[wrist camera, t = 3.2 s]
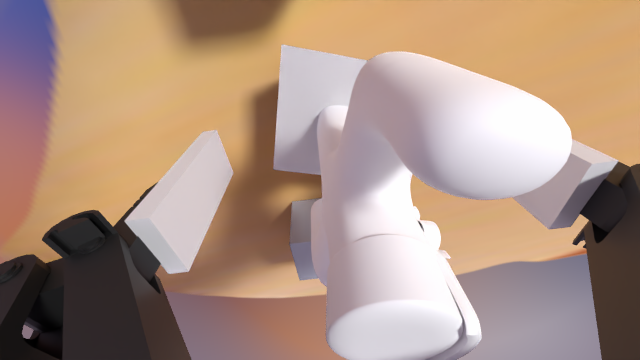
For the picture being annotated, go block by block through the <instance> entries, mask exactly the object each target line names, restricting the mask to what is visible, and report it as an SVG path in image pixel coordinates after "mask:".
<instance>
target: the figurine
mask: <svg viewBox="0 0 640 360" xmlns="http://www.w3.org/2000/svg"><path fill="white" fill-rule="evenodd" d="M571 146H572V138H571V132H570V128H569V127H568V125H567V123H566V122H565V120H564V119H563V117H562V116H561V115H560V114H559V113H558V112H557V111H556V110H555V109H554V108H552V107H551V106H550V105H549V104H547V103H546V102H544V101H543V100H541V99H539V98H537V97H535V96H533V95H531V94H529V93H527V92H525V91H522V90H520V89H518V88H516V87H513V86H511V85H508V84H505V83H502V82H500V81H497V80H494V79H491V78H488V77H485V76H483V75H480V74H477V73H474V72H471V71H469V70H466V69H463V68H460V67H457V66H454V65H452V64H449V63H446V62H443V61H440V60H437V59H434V58H431V57H428V56H424V55H420V54H416V53H410V52H387V53H382V54H379V55H377V56H374V57H373V58H371V59H370V60H369V61H368V60H362V59H357V58H352V57H346V56H341V55H336V54H330V53H325V52H320V51H314V50H309V49H304V48H298V47H293V46H288V45H282V47H281V62H280V77H279V91H278V106H277V121H276V136H275V151H274V166H273V170H281V171H290V172H298V173H307V174H316V175H321V180H322V198H321V199H319V200H317V201H316V202H314V203H313V205H312V207H311V253H312V261H313V266H314V269H315V272H316V275H317V277H318V278H319V280H320V281H321V283H323V284H324V285H325V286H326V287H327V306H326V340H327V343H328V344H329V347H330V348H331V349H332V350H333V351H334V352H335V353H337V354H338V355H340V356H342V357H344V358H346V359H348V360H457V359H459V358H460V357H462V356H464V355H466V354H468V353H469V352H470V351H472V350H473V349H474V348H475V347H476V345H477V344H478V343H479V341H480V340H481V338H482V336H481V328H480V323H479V320H478V317H477V315H476V313H475V311H474V309H473V307H472V305H471V304H470V302H469V300H468V298H467V297H466V295H465V293H464V291H463V289H462V287H461V286H460V284H459V282H458V280H457V279H456V276H455V275H454V273H453V271H452V269H451V267H450V266H449V264H448V262H447V260H446V259H451V258H450V256H449V255H448V254H447V252H446V251H445V250H438V248H439V246H440V240H441V237H440V231H439V228H438V226H437V225H436V224H435V223H434V222H432V221H425V220H420V214H419V211H418V209H417V208H416V206H413V204H412V200H411V193H410V182H411V177H412V174H414V175H415V176H416V177H417V178H418V179H420V180H421V181H422V182H424V183H425V184H427V185H429V186H431V187H433V188H435V189H437V190H439V191H441V192H444V193H447V194H450V195H453V196H457V197H463V198H469V199H476V200H493V199H504V198H510V197H515V196H518V195H521V194H524V193H527V192H530V191H532V190H534V189H536V188H538V187H540V186H542V185H543V184H545V183H546V182H548V181H549V180H550V179H551V178H553V177H554V176H555V175H556V174H557V173H558V172H559V171H560V170H561V168H562V167H563V166H564V164H565V163H566V162H567V159H568V157H569V155H570V152H571Z"/></svg>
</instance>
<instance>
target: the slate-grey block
mask: <svg viewBox="0 0 640 360" xmlns="http://www.w3.org/2000/svg"><path fill="white" fill-rule="evenodd" d="M319 199H321V198H319ZM319 199H310V200H302V201H293V202H292V211H291V227H290V242H289V244H290V248H291V251H292V255H293V258H294V262H295V265H296V269H297V272H298V276H299V279H300V280H307V279H316V278H318V277H317V275H316V272H315V269H314V266H313V261H312V253H311V207H312V205H313V203H314V202H316V201H317V200H319Z"/></svg>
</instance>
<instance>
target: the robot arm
mask: <svg viewBox="0 0 640 360" xmlns="http://www.w3.org/2000/svg"><path fill="white" fill-rule="evenodd" d="M232 175H233V170H232V168H231V165H230V163H229V160H228V158H227V155H226V153H225V150H224V147H223V145H222V142H221V140H220V137H219V135H218V132H217V130H213V131H205V132H202V133H201V134H200V135H199V136H198V138H197V139H196V140H195V141H194V142H193V143H192V144H191V146H190V147H189V148H188V149H187V150H186V151H185V152H184V154H183V155H182V156H181V157H180V158H179V159H178V160H177V162H176V163H175V164H174V165H173V166H172V167H171V168H170V169H169V171H168V172H167V173H166V174H165V175H164V176H163V177H162V179H161V180H160V181H159V182H157V183H156V184H154V185H153V186H152V187H150V188H149V189H147V190H146V191H145V192H144V194H143V195H142V196H141V197H140V200H137V201H136V202H135V203H134V205H133V207H131V208H130V209H129V210H128V211H127V212H126V213H125V215H124V216H123V217H122V218H121V219H120V220H119V221H118V222H117V223H116V224H115V226H114V227H112V225H111V224H110V223H109V222H108V221H107V220H106V219H105V218H104V216H103V215H102V214H101V213H100V212H99V211H96V210H90V211H84V212H81V213H78V214H75V215H73V216H71V217H69V218H67V219H65V220H63V221H61V222H59V223H58V224H56V225H55V226H53V227H52V228H51V229H50V230H49V231H48V232H47V233H46V234H45V235H44V237H43V239H42V241H44V242H45V243H46V244H47V245H48V246H50V247H51V248H52V249H53V250H54V251H56V252H57V253H58V254H59V255H60V256H62V257H63V258H61V259H58V260H55V261H52V262H49V263H46V264H45V263H44V262H43V261H42V260H40V259H39V258H38V257H36V256H35V255H24V256H20V257H17V258H14V259H12V260H10V261H6V262H4V263H2V264H0V360H191V357H190V355H189V352H188V350H187V347H186V345H185V342H184V340H183V337H182V334H181V332H180V329H179V327H178V324H177V322H176V319H175V317H174V314H173V312H172V309H171V306H170V304H169V302H168V299H167V296H166V294H165V291H164V289H163V286H162V284H161V281H160V279H159V278H158V277H157V276H156V274H155V273H156V271H157V269H158V268H159V266H160V264H161V266H162V267H163V268H164V269H165V270H166V272H167V273H168V274H173V273H181V272H189V270H190V268H191V266H192V264H193V261H194V259H195V257H196V255H197V253H198V250H199V248H200V246H201V244H202V241H203V239H204V237H205V235H206V233H207V230H208V228H209V226H210V224H211V222H212V219H213V217H214V215H215V213H216V210H217V208H218V206H219V204H220V202H221V199H222V197H223V195H224V193H225V190H226V188H227V186H228V184H229V182H230V179H231V177H232ZM512 198H513V199H515V200H516V201H517V202H518V203H519V204H520V205H521V206H523V207H524V208H525V209H526V210H527V211H528V212H529V213H531V214H532V215H533V216H534V217H535V218H536V219H538V220H539V221H540V222H541V223H542V224H543V225H544V226H546V227H547V228H548V229H556V228H565V227H571V225H572V224H573V223H574V221H575V220H576V219H577V217H578V216H579V214H581V215H583V216H584V217H586V218H587V219H588V220H589V221H588V223H587V224H586V225H585V226H584V228H583V229H582V230H581V232H580V233H579V234H578V235H577V237H576V238H575V239H574V241H573V244H574V245H577V244H578V243H579V242H580V241H583V240H585V242H586V244H585V245H584V246H583V248H586V249H587V256H588V262H589V270H590V277H591V285H592V292H593V299H594V306H595V313H596V321H597V327H598V335H599V342H600V349H601V355H602V360H640V164H636V165H633V166H631V167H629V166H627V165H625V164H622V163H620V162H618V160H616V159H614V158H612V157H610V156H608V155H605V154H603V153H601V152H599V151H597V150H595V149H592V148H590V147H588V146H586V145H584V144H581V143H579V142H577V141H575V140H573V139H572V146H571V152H570V155H569V157H568V159H567V162H566V163H565V164H564V166H563V167H562V168H561V170H560V171H559V172H558V173H557V174H556V175H555V176H554V177H553V178H551V179H550V180H549V181H548V182H546V183H545V184H543V185H542V186H540V187H538V188H536V189H534V190H532V191H530V192H527V193H524V194H521V195H518V196H515V197H512ZM23 325H26V326H28V327H30V328H32V329H33V330H34V331H33V333H32V336H31V337H30V339H25V338H23V335H22V330H23Z"/></svg>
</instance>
